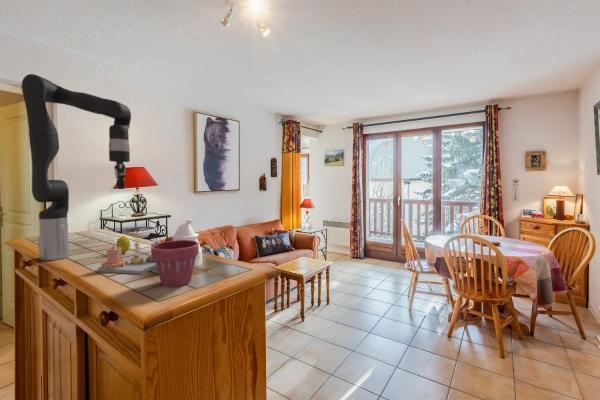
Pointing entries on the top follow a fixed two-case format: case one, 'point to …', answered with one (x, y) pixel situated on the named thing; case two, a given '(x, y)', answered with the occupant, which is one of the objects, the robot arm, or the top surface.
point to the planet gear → (114, 259)
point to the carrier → (134, 264)
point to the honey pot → (188, 238)
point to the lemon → (123, 244)
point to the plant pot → (175, 261)
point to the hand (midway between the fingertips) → (120, 188)
